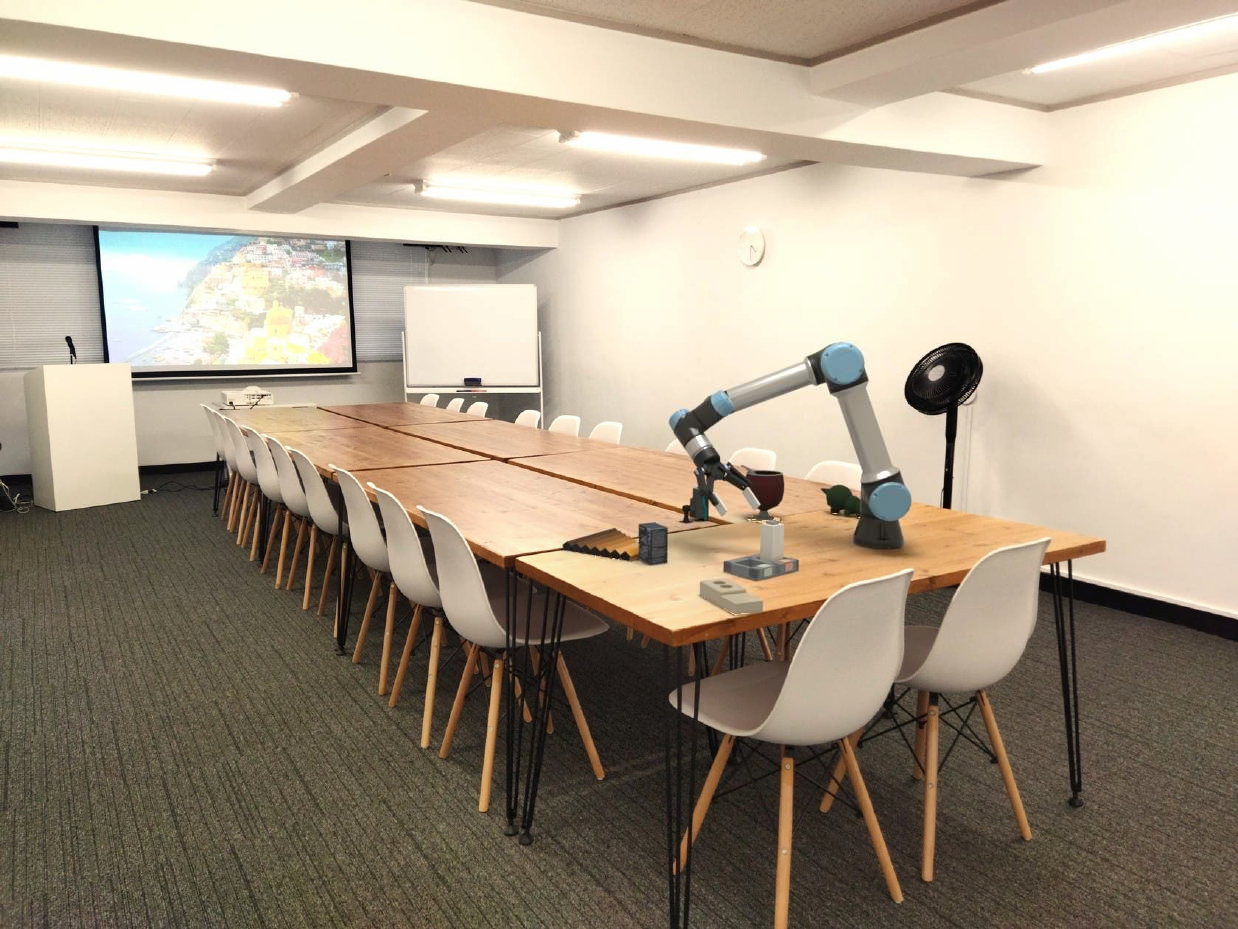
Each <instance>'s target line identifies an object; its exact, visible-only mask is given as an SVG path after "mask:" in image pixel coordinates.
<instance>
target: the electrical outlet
mask: <svg viewBox="0 0 1238 929" xmlns="http://www.w3.org/2000/svg"><path fill="white" fill-rule="evenodd" d="M700 595H701V596H700ZM699 596H700V597H701V598H704V597H705V598H706V599H705V598H704V599H705V600H707V601H709V600H710V601H711V602H710V601H709V602H710V603H712V602H713V603H712V604H714V603H716V604H717V605H719V606H721V607H722V608H721V607H720V608H721V609H723V608H725V609H726V610H728V611H730V612H732V613H734V614H741V613H753V614H759V613H763V612H764V611H763V610H764V609H763V606H764V600H763V599H761V598H759V597H756V596H755V595H753V594H750V592H749V593H748V592H747V589H746V588H745V587H744V586H741V585H740V584H738V583H735V582H734V581H731V580H730V579H728V578H725V577H724V578H723V577H721V578H714V579H706V580H705V579H704V580H700V581H699ZM716 604H715V605H716ZM717 605H716V606H717ZM719 606H718V607H719ZM726 610H725V611H726ZM728 611H727V612H728Z"/></svg>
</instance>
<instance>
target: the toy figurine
mask: <svg viewBox="0 0 1238 929" xmlns="http://www.w3.org/2000/svg"><path fill="white" fill-rule="evenodd" d="M820 491H821V492H823V494H824V495H825V499H826V500H825V501H826V504H827V505H826V506H829V508H830V510H829V511H830V513H831V514H832V513H838V514H840V512H841V511H843V515H844V516H846V517H850V516H851V515H855V518H856V517H860V498H859V496H857V495H853V492H852V491H851V489H850V488H849V487H848V486H847V485H846V486H845V485H844V484H835V485H833V486H831V487H829V488H826V487H822V488H820Z"/></svg>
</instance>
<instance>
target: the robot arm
mask: <svg viewBox="0 0 1238 929" xmlns="http://www.w3.org/2000/svg"><path fill="white" fill-rule="evenodd" d="M869 383H870V380H869V377H868V373H867V371H866V367H865V357H864V354H863V353H862V351H861V350H860V349H859V348H858V346H856V345H855V344H852V343H851V342H846V341H838V342H835V343H830V344H828V345H827V346H825V347H823V348H821V349H820V350H818V351H816V352H814V353H811V354H809V355H806V356H805V357H804V358H803V361H799V362H797V363H795V364H792V365H789V366H786V367H784V368H782V369H779V370H777V371H773V372H770V373H768V374H765V375H762V376H760V377H757V378H755V379H753V380H749V381H747V382H744V383H741V384H739V385H736V386H733V387H731V388H728V389H726V390H721V389H720V390H718V391H716V392H714V393H713V394H710V395H709V396H708V395H707V397H706V398H705V399H704V400H703V401H702V402H701V403H700V404H699V405H697V406H696V407H695V408H694V409H692V410H689V409H687V408H680V410H677V411H675V412H674V413H672V414H671V416H670V417H669V420H668V425H669V427H670V428H671V430H672V432H673V435H674V436H675V437H676V439H677V440H678V442H679V443H680V445H681V446H682V448H683V449H684V450H685V452H686V453H687V455H688V456H689V458H690V459H691V460H692V461H693V462H692V463H693V464H694V466H695V469H694V471H693V475H694V476H695V477H696V484H697V487H698V489H699V495H700V497H703V496H704V499H705V500H708V499H709V503H711V505H712V506H713V507H714V508H715V509H716V511H717V512H718V514H719V515H720V517H721V518H723V517H724V516H725V515H726V513H728V511H729V510H728V508H727V507H726V505H725V504H724V502H723V501H722V499H721V497H719V494H718V493H717V492H714V487H715V482H716V481H723V482H727V483H728V484H730V485H732V486H734V487H735V488H737V489H739V490H740V491H742V493H741V495H743V497H744V498H745V500H746V501H747V502H748V504H749V506H750V507H751V509H753V511H756V510H758V509H757V508H758V507H759V506H760V503H759V501H758V500H757V498H756V497H755V494H754V493H753V492H752V490H751V489H750V487H751V486H752V485H753V483H752V482H751V481H750V480H749V479H748V478H746V475H744V474H743V473H742V472H741V471H739V470H738V469H737V468H735V467H734V465H733V464H732V463H731V462H730V461H728V462H726V463H725V464H723V462H721V455H720V454H719V452H718V451H717V450H716V448H715V447H714V445H713V443H712V442H711V441H710V439H709V438H708V436H707V435H706V434H705V432H707V431H709V429H710V428H712V427H714V426H715V425H716V424H717V423H719V422H720V421H722V420H723V419H724V418H725V417H728V416H729V415H732V414H734V413H736V412H740V411H742V410H745V409H747V408H751V407H753V406H756V405H758V404H762V403H764V402H767V401H770V400H772V399H775V398H778V397H781V396H783V395H786V394H788V393H791V392H792V393H793V392H794V391H798V390H800V389H802V388H805V387H808V386H810V385H813V386H815V387H817V386H820V385H823V384H826V387H827V389H828V392H829V395H831V396H833V397H835V398H836V399H837V402H838V405H839V408H840V410H841V413H842V417H843V419H844V422H845V425H846V427H847V431H848V433H849V437H850V440H851V442H852V445H853V447H854V448H853V449H854V451H855V454H856V456H857V459H858V463H859V465H860V468H861V477H860V480H859V482H860V498H859V499H860V518H859V519H858V522H857V524H856V527H855V529H854V533H853V534H852V542H853V544H855V545H857V544H858V545H857V546H860V545H861V547H865V548H871V547H872V548H874V549H896V548H897V547H898V548H901V547H903V546H904V541H905V539H904V535H903V532H902V531H903V530H902V528H901V524H900V521H899V520H900V519H902V518H904V517H905V516H906V515H907V514H908V512H910V509H911V507H912V494H911V492H910V491H909V489H908V488H907V487H906V485H905V484H906V483H905V481H904V478H903V476H902V473H901V470H900V468H899V467H896V466H895V465H893V463H892V461H891V457H890V454H889V452H888V449H887V446H886V443H885V440H884V438H883V437H884V436H883V433H882V430H881V428H880V425H879V423H878V418H877V416H876V412H875V411H874V408H873V405H872V402H871V399H870V396H869V393H868V390H867V386H868V385H869ZM705 477H706V478H705Z"/></svg>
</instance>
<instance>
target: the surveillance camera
mask: <svg viewBox="0 0 1238 929" xmlns="http://www.w3.org/2000/svg"><path fill="white" fill-rule="evenodd" d="M709 508H710V501H709V499H708V500H705V499H704V496H703V497H700V495H699V489H698V486H696V487H693V488H692V497H691V498H690V499H689V504H684V505H682V508H681V510H682V512H683V519H682V520H680V521H678V522H679V523H682V524H685V525H686V524H687V525H688V524H692V523H694V521H693V520H692V521H690V518H692V519H697V520H702V521H705V522H709V520H710V519H709V514H710V513H709V512H710V511H709V510H710V509H709Z"/></svg>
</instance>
